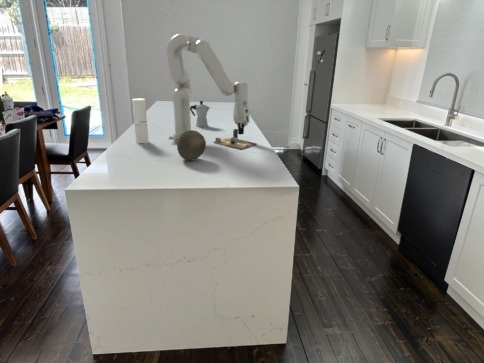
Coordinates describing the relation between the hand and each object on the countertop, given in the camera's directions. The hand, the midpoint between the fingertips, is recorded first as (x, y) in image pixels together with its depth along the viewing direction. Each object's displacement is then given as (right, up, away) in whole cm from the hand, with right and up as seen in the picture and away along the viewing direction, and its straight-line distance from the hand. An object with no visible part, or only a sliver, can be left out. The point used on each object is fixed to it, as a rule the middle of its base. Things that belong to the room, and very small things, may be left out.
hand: (240, 133), depth 206 cm
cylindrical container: (-59, -6, -4) cm, 59 cm away
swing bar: (-4, -4, -2) cm, 6 cm away
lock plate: (-3, -6, -4) cm, 8 cm away
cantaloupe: (-25, -18, -34) cm, 46 cm away
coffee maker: (-29, +11, +39) cm, 50 cm away
